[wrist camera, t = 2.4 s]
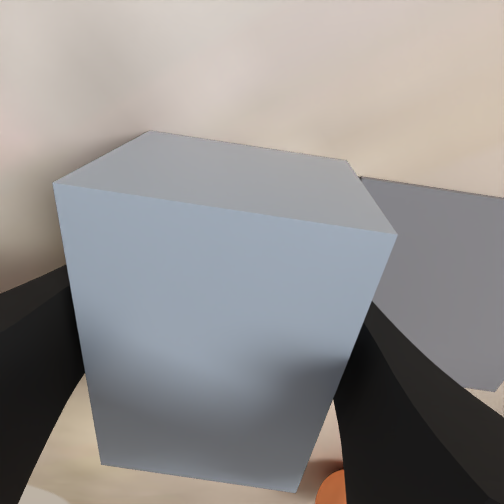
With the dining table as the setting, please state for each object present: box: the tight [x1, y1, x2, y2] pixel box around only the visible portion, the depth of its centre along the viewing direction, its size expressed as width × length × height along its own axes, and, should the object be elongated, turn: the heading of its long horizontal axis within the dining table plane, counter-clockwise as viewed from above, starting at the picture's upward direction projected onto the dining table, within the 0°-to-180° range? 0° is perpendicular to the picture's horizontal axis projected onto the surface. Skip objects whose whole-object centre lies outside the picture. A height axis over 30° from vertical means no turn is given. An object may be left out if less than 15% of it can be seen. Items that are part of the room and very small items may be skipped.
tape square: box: [360, 176, 504, 392], centre depth 12 cm, size 8×8×1 cm
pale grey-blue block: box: [53, 131, 398, 493], centre depth 10 cm, size 9×6×5 cm
